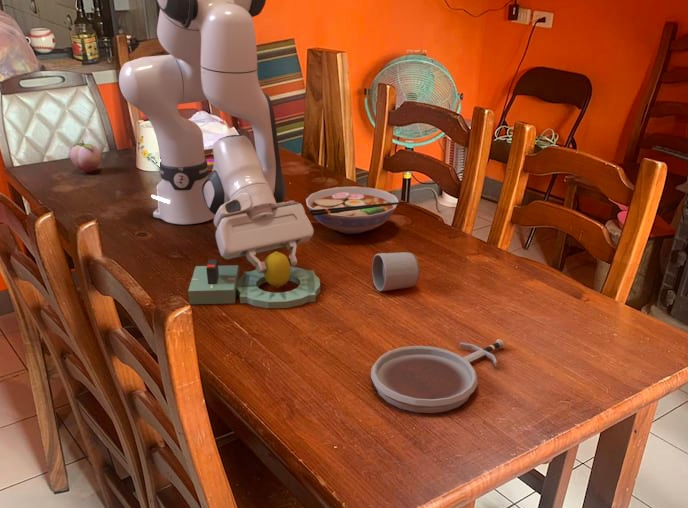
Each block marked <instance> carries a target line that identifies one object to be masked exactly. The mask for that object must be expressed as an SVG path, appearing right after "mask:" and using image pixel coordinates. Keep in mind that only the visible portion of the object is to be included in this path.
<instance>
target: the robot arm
mask: <svg viewBox="0 0 688 508" xmlns="http://www.w3.org/2000/svg"><path fill="white" fill-rule="evenodd" d="M156 2H157V5H158V7H159V12H158V20H157V27H156V33H157V34H156V35H157V39H158V42H159V44H160V45H161V47H162V49H164V50H165V51H166V52H167V53H168V54H163V55H162V54H161V55H153V56H151V55H150V56H142V57H139V58H135V59H132V60H130V61H126V62H124V63H123V65H122V67H121V68H120V70H119V75H118V85H119V89H120V92H121V94H122V96H123V97H124V99H125V100H126V101H127V102H128V103H129V104H130V105H131V106H133V107H134V108H136V109H137V110H139V111H140V112H141V113H142V114H143V115H144V116H145V117H146V118H147V119H148V121H149V122H150V125H151V126H152V128H153V130H154V132H155V136H156V141H157V146H158V151H159V152H158V153H159V157H160V159H161V162H160V167H159V166H157V167H158V169H159V173H160V178H161V180H160V181H159V182H158V184H157V185H156V195H155V194H151V198H152V199H154V200H157V208H156V209H155V210H154V211H153V212H152V216H153V218H156V219H161V220H162V221H164V222H166V223H169V224H174V225H194V224H200V223H205V222H209V221H211V220H213V225H214V227H215V228H216V230H215V241H216V245H217V249H218V252H219V254H220V257H222V258H223V259H225V260H231V259H237V258H240V257H241V258H242V257H244V256H245V257H246V261H248V262H249V263H250V264H252V265H253V266H254V267H255V268H256V269H257V271H258V273H263V272H266V271H267V267H266V266H265V265H266V264H265V260H263V261H261V260H260V259H259V258H258V257H256V255H257V254H259V253H264V252H268V251H272V250H277V249H281V248H286V250H287V252H289V255H288V256H287V258H288V260H289V263H290V267H294V266H297V264H298V259H297V257H296V253H297V248H298V247H297V246H298V245H300V244H305V243H309V241H311V239H312V238H313V236H314V232H315V230H314V227H313V224H312V223H311V221H310V219H309V217H308V216H307V215H306V211H305V208H304V205H303V204H302V203H300V202H298V201H295V200H293V199H292V200H291V199H289V200H288V201H285V199H286V197H287V187H286V182H285V176H284V173H283V169H282V164H281V157H280V156H281V155H280V148H279V140H278V130H277V123H276V118H275V111H274V106H273V103H272V100H271V98H270V96H269V94H268V93H266V92H265V91H263V90H262V87H261V85H260V81H259V78H258V77H259V76H258V48H257V38H256V29H255V23H254V19H253V17H256V16H259V15H260V14H261V13H262V11H263V9H264V7H265V6H266V2H267V0H156ZM205 101H208V102H209V103H210V104H211V106H213V107H214V108H215V109H217V110H218V111H220V112H222V113H224V114H226V115H229V116H231V117H233V118H237V119H240V120H243V121H245V122H247V123H248V124H249V125H250V126H251V128H252V132H253V140H254V145H255V146H254V145H253V143H252V142H251V140H250V139H249V138H248V137H247V136H246V135H243V134H231V135H226V136H223V137H221V138H219V139H216V141H215V142H214V143H213V146H212V148H213V154H214V166H213V170H212V172H211V173H210V175H209V176H208V174H209V172H208V164H207V160H206V159H205V153H204V150H205V144H204V136H203V135H204V134H203V131H202V128H201V127H200V126H199V125H198V124H197V123H196V122H195V121H193V120H190V119H188V118H186V117H183V116H181V114H180V112H179V107H178V105H183V104H184V105H185V104H192V103H199V102H200V103H201V102H205ZM256 269H255V270H256Z"/></svg>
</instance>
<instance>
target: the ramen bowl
mask: <svg viewBox="0 0 688 508" xmlns="http://www.w3.org/2000/svg"><path fill="white" fill-rule="evenodd" d="M305 203H306V206H307V209H308V211H309V214H311V216H312V217H313V218H314V219H315V220H316V221H317V222H318V223H320V224H321V225H323V226H325V227H326V228H327V229H329V230H333V231H337V232H339V233H342V234H346V235H357V234H362V233H364V232H368V231H372V230H374V229H376V228H378V227H380V226H382V225H383V224H385V223H386V222H387V221H388V220H389V219H390V218H391V216H392V215H393V213H394V211H395V209H396V208H397V206H398V205H402V204H404V205H405V204H410V203H411V202H410V201H399V199H398V198H397V196H396V195H394V194H393V193H390V192H388V191H386V190H382V189H378V188H373V187H367V186H366V187H365V186H336V187H331V188H325V189H321V190H319V191H316V192H313V193H311V194H309V196H308V197H306V198H305Z"/></svg>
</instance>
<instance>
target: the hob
mask: <svg viewBox="0 0 688 508" xmlns="http://www.w3.org/2000/svg"><path fill="white" fill-rule="evenodd" d="M290 267H291V273H290V278H289V280H288V281H287V282H292V283H295V284H297V285H298V286H297V287H296V288H293V289H291V290H287V291H284V292H283V291H282V292H273V291H272V292H271V291H266V290H263V289H262V288H261V289H260V288H259V287H260V286H261V285H263V284H265V283H268V282H267V280H266V279H265V276H264V272H263V273H258V271H257V269H253V270H251V271H243V273H242V274H243V275H242V276H240V277H239V279H238V280H237V286H236V291H237V295H236V296H238V298H239V304H248V305H251V306H253V307H256V308H257V307H258V308H264V309H289V308H295V307H298V306H303V305H305V304H307V303H315V302H317V301H316V298H317V297H318V295H319V294H320V293H321V279H320V277H319V276H318V275H316V274H315V270H314V269H308V270H307V269H305V268H302V267H296V266H290Z"/></svg>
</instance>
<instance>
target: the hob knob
mask: <svg viewBox="0 0 688 508" xmlns="http://www.w3.org/2000/svg"><path fill="white" fill-rule="evenodd" d="M206 266H207V268H206V270H207V279H208V284H217V281H218V277H219V269H218V266H219V261H218V259H208V261H207V265H206Z"/></svg>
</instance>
